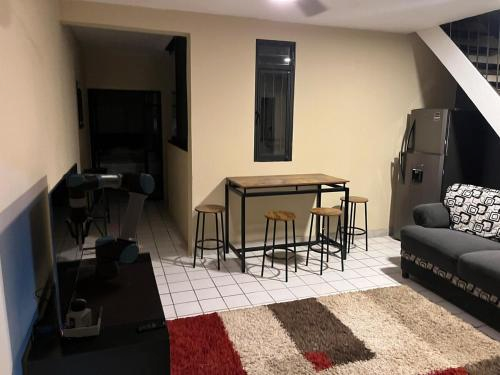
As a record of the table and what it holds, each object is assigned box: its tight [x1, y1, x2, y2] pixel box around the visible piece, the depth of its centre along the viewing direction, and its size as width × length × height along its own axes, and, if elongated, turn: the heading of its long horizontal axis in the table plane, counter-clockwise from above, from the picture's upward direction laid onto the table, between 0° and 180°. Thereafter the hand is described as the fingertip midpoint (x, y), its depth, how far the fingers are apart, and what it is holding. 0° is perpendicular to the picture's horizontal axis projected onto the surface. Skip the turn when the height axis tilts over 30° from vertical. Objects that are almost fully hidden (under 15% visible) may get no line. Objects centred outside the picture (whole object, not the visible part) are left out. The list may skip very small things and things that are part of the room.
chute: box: [62, 305, 103, 338], centre depth 184 cm, size 24×15×4 cm, turn 16°
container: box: [65, 298, 93, 328], centre depth 180 cm, size 8×8×13 cm
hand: (81, 250), depth 200 cm, fingers closed
